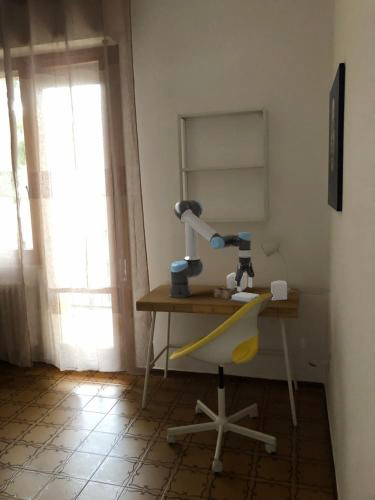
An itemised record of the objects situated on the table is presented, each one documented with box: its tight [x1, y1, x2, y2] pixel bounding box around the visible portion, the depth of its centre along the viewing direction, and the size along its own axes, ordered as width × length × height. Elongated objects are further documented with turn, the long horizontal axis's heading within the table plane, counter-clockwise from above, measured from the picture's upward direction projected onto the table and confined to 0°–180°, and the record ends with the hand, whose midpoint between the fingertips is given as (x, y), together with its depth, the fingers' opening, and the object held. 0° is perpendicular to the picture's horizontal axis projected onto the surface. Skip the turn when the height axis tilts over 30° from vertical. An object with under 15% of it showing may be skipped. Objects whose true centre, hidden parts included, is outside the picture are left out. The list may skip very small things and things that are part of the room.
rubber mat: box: [228, 298, 248, 304], centre depth 265 cm, size 16×14×1 cm
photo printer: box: [270, 279, 288, 301], centre depth 261 cm, size 10×4×12 cm, turn 96°
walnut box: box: [213, 286, 237, 300], centre depth 275 cm, size 12×8×5 cm, turn 51°
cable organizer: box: [225, 272, 248, 292], centre depth 293 cm, size 15×11×12 cm
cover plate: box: [231, 291, 260, 302], centre depth 265 cm, size 14×11×2 cm
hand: (244, 289), depth 264 cm, fingers open, 13 cm apart
